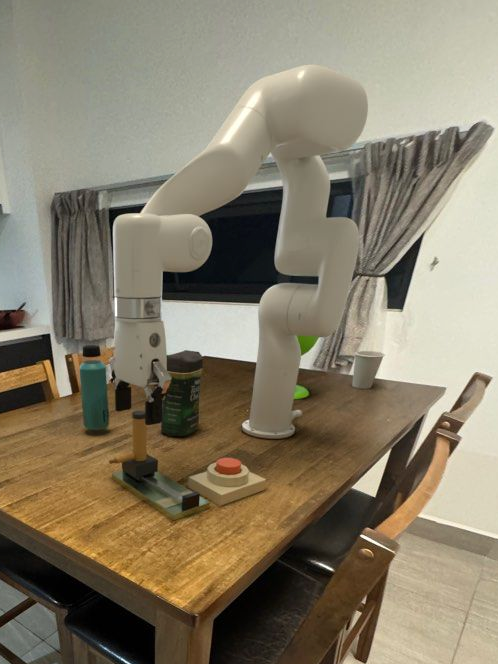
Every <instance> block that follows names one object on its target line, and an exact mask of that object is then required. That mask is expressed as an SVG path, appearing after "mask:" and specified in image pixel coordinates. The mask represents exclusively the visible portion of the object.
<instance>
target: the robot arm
mask: <svg viewBox="0 0 498 664" xmlns="http://www.w3.org/2000/svg"><path fill="white" fill-rule="evenodd" d="M244 91H245V92H244V93H243V94H242V95H241V97H240V99H239V100H238V102H236V105H234V107H233V108H232V110H231V111H230V113H229V114H228V116H227V117H226V119H225V120H224V121H223V123H222V125H220V127H219V129H218V130H217V131H216V133H215V134H214V135H213V137H212V139H211V140H210V142H209V143H208V144H207V146H206V147H205V148H204V149H203V150H202V151H201V152H200V153H199V154H197V155H196V156H195V157H193V158H192V159H191V160H190V161H189V162H187V163H186V164H185V165H184V166H183V167H181V168H180V169H179V170H178V171H177V172H176V173H174V174H173V175H172V176H170V177H169V179H167V180H166V181H165V182H164V183H163V184H162V185H160V186H159V188H158V189H157V190H156V191H155V192H154V193H153V194H152V196H151V197H150V198H149V199H148V201H147V202H146V204H145V205H144V207H143V208H142V209H141V210H140V213H139V212H138V213H137V212H135V213H124V214H119V215H118V216H117V217H115V219H114V220H113V225H112V257H113V261H112V262H113V295H114V298H113V300H114V321H115V322H114V332H113V336H114V337H113V356H112V357H111V358H110V359H109V360H108V362H109V368H110V371H111V374H110V375H111V377H112V380H113V383H112V384H113V385H112V386H113V389H114V405H115V406H114V407H115V408H114V409H115V411H116V412H123V411H128V410H131V409H132V387H131V386H130V385H133V386H135V387H138V388H142V389H143V391H144V394H145V396H146V399H147V400H145V402H144V411H145V424H146V425H147V426H152V425H157V424H161V422H162V404H163V400H164V399H165V395H166V394H167V393H168V388H169V385H170V382H171V376H170V375H169V373H168V372H167V355H168V354H167V338H166V330H165V322H164V320H162V313H163V311H162V310H163V273H164V272H170V273H188V272H193V271H196V270H198V269H199V268H200V267H202V266H203V264H205V263H206V262H207V260H208V259H209V256H210V255H211V251H212V248H213V247H212V246H213V235H212V230H211V229H210V227H209V225H208V223H207V222H206V221H205V220H204V219H203V218H202V217H200V216H202V215H204V214H206V213H209V212H211V211H214V210H216V209H219V208H220V207H223V206H224V205H226V204H228V203H230V202H231V201H233V200H235V199H237V198H238V197H240V196H241V195H242V194H243V193H244V191H245V190H246V189H247V187H248V186H249V184H250V183H251V181H252V180H253V178H254V177H255V176H256V174H257V172H258V171H259V169H260V168H261V167H262V165H263V164H264V162H265V161H266V159H267V158H268V157H269V155H270V154H271V156H272V158H273V160H274V162H275V165H276V167H277V169H278V171H279V174H280V178H281V183H282V201H281V208H280V209H281V210H280V215H279V221H278V222H279V223H278V229H277V235H276V242H275V248H274V266H275V269H276V271H277V272H279V273H280V274H283V275H286V276H295V277H297V276H298V277H318V282H317V284H313V283H312V284H311V283H300V282H299V283H298V282H297V283H296V282H282V283H278V284H274V285H272V286H271V287H269V288H267V289H266V290H265V292H263V294H262V296H261V298H260V299H259V304H258V311H257V314H258V315H257V317H258V318H257V319H258V320H257V321H258V347H257V356H256V363H255V364H256V366H255V371H254V372H255V373H254V379H253V388H252V395H251V403H250V410H249V418H248V419H247V420H245V421H243V422H242V424H241V430H242V432H244V433H245V434H247V435H249V436H252V437H255V438H261V439H268V440H269V439H270V440H275V439H277V440H278V439H286V438H289V437H291V436H292V435H294V434H295V430H296V426H295V425H294V424H293V423H292V421H294V420H295V419H299V418H301V417H302V416H303V411H302V410H301V409H295V410H293V405H294V400H295V399H294V394H295V388H296V385H297V382H298V378H299V377H298V376H299V371H300V366H301V360H302V356H301V349H300V345H299V342H298V339H297V336H296V335H301V336H309V337H319V338H327V337H329V336H331V335H333V334H334V333H335V332H336V330H337V329H338V328H339V326H340V324H341V322H342V320H343V316H344V313H345V309H346V305H347V301H348V296H349V293H350V288H351V285H352V280H353V276H354V272H355V267H356V263H357V259H358V254H359V248H360V232H359V228H358V225H357V223H356V222H355V221H354V220H353V219H352V218H349V217H345V216H335V217H327V212H328V205H329V199H330V193H331V179H330V176H329V172H328V169H327V167H326V164H325V163H324V161H323V159H322V158H321V156H324V155H329V154H336V153H341V152H344V151H347V150H348V149H350V148H351V147H353V145H354V144H356V142H357V141H358V140H359V138H360V136H361V135H362V133H363V132H364V129H365V126H366V123H367V119H368V114H369V113H368V112H369V104H368V103H369V100H368V96H367V92H366V90H365V87H364V86H363V84H362V82H360V81H358V80H357V79H356V78H353V77H351V76H349V75H346V74H344V73H341V72H340V71H338V70H334V69H331V68H329V67H326V66H323V65H319V64H312V63H311V64H304V65H300V66H296V67H293V68H290V69H287V70H284V71H281V72H277V73H273V74H270V75H266V76H264V77H262V78H259V79H258V80H256V81H255V82H253V83H252V84H251V85H250V86H249V87H248V88H247V89H246V90H244ZM153 387H155V390H154V392H153V393H152V390H151V388H153Z"/></svg>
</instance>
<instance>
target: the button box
mask: <svg viewBox="0 0 498 664" xmlns="http://www.w3.org/2000/svg"><path fill="white" fill-rule="evenodd" d="M216 463H217V461H216V462H213V463H210V464H209V465H208V467H207V468H206V470H205V471H203V472H200V473H197V474H193V475H190V476H188V481H187V482H188V483H187V484H188V485H187V488H189V490H191V491H193V492H198V493H200V496H201V497H203V498H206V499H207V500H208V501H210V502H213V503H215V504H216V505H217V506H220V507H221V506H224V505H227V504H230V503H232V502H235V501H239V500H240V499H241V500H242V499H244V498H246V497H249V496H252V495H254V494H258V493H260V492H263V491H266V490H265V489H266V483H267V479H266V478H264V477H263V476H262V477H261V476H259V475H258V474H255V473H253V472H252V471H250V470H249V469H248V467H247V466H246V465H244V464H242V463H241V469H240V473H239V474H236V475H224V474H220V473H218V472H216Z"/></svg>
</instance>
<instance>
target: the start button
mask: <svg viewBox="0 0 498 664" xmlns="http://www.w3.org/2000/svg"><path fill="white" fill-rule="evenodd" d="M216 462H217V463H216ZM216 462H215V463H216V472H218V473H220V474H224V475H236V474H239V473H240V469H241V464H242V462H241V460H240V459H237V458H233V457H221V458H218V459H217V460H216Z"/></svg>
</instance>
